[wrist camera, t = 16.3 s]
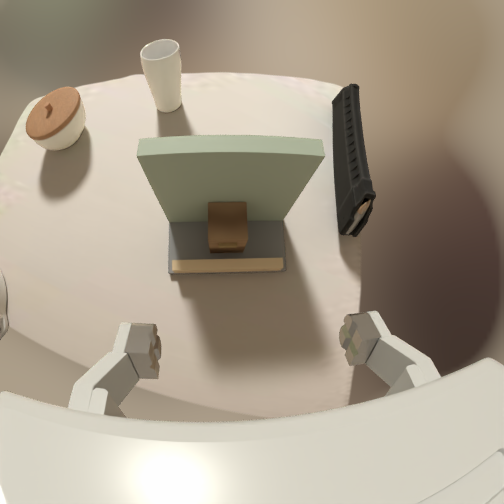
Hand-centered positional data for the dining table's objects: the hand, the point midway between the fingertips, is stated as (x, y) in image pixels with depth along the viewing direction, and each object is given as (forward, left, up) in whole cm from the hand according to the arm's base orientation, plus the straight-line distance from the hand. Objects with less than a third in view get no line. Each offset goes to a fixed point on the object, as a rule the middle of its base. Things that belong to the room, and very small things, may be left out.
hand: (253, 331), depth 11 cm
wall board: (+9, +8, -31) cm, 34 cm away
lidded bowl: (+6, +49, -32) cm, 59 cm away
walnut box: (+9, +8, -30) cm, 33 cm away
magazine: (+35, +1, -32) cm, 47 cm away
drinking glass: (+24, +35, -32) cm, 53 cm away
